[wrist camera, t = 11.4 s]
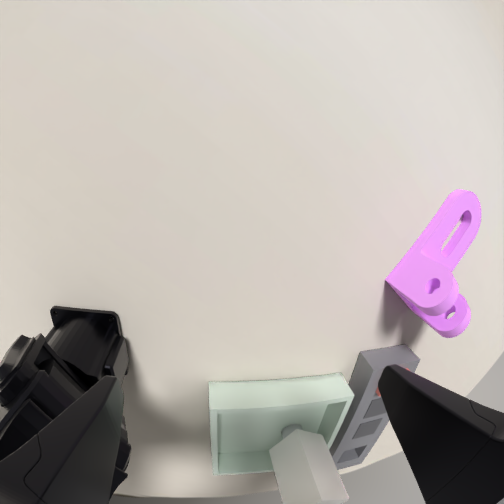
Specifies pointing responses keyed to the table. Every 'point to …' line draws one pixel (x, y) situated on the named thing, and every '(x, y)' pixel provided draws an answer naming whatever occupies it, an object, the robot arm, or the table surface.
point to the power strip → (367, 404)
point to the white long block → (306, 469)
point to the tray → (271, 417)
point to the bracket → (439, 266)
